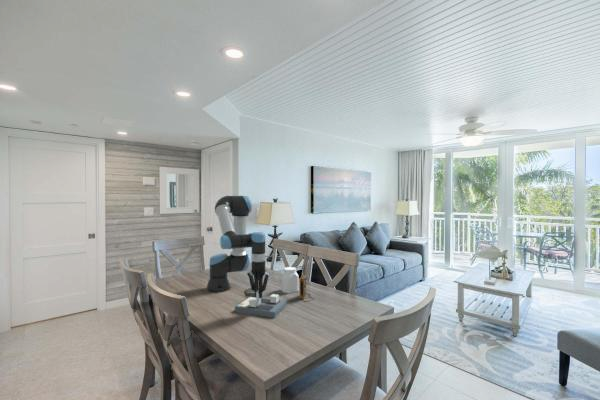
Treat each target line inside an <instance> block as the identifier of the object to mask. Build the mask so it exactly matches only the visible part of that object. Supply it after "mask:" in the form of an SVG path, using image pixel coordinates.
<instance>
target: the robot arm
mask: <svg viewBox="0 0 600 400" xmlns="http://www.w3.org/2000/svg"><path fill="white" fill-rule="evenodd" d="M252 208H253V207H252V200H251V199H250V197H249V196H247V195H225V196H222V197H220V198H219V199H218V200H217V201H216V204H215V206H214V212H215V215H216V216H217V218H218V222H219V226H220V231H221V236H220V238H219V243H220V245H219V246H220V249H222V250H231V251H230V252H229V253H230V254H229V255H228V254H227V253H219V254H214V255H212V256H211V257H210V258H209V264H208V265H209V279H208V282H207V285H206V291H207V292H211V293H222V292H225V291H226V292H227V291H228V290H229V289H230V288H231V287H230V285H231V284H230V281H229V279H228V273H229V274H230V273H239V272H240V273H241V272H244V271H247V270H248V269H249V266H250V255H249V254H248V251H247V250H246V248H247V249H248V248H251V269H250V271H249V272H247V275H246V276H248V279H249V286H250V289H251V291H253V292H254V297H255V298H256V304H258V305H259V304H260V303H261V298H263V292H264V291H266V290H267V289H266V288H267V284H268V280H269V277H270V276H271V274H270V273H268V272H267V270H266V233H265V232H263V231H256V232H255V231H254V232H251V233H248V234H247V233H246V232H247V217H249V216H250V215H249V214H250V213H252V211H253V209H252ZM232 217H233V218H232Z"/></svg>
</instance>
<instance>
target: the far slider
mask: <svg viewBox="0 0 600 400" xmlns="http://www.w3.org/2000/svg"><path fill="white" fill-rule="evenodd" d="M269 299H270V303H277V302H278V301H280V295H279V294H275V293H272V294H271V295H269Z"/></svg>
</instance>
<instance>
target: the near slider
mask: <svg viewBox="0 0 600 400" xmlns="http://www.w3.org/2000/svg"><path fill="white" fill-rule="evenodd" d="M257 306H258V304H256V298H251V299H250V300H249V307H257Z"/></svg>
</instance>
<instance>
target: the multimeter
mask: <svg viewBox="0 0 600 400" xmlns="http://www.w3.org/2000/svg"><path fill="white" fill-rule="evenodd" d="M303 266H304V267H303ZM300 269H301V270H303V271H302V274H301V275H300V278H299V299H300V300H302V301H303V302H305V303H306V302H310V301H312V300H315V297H312V296H311V294H310V293H307V275H305V265H303V264H302V267H300ZM307 295H308V297H310V298H311V299H307V301H306V300H304V299H305V298H306V296H307Z"/></svg>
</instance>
